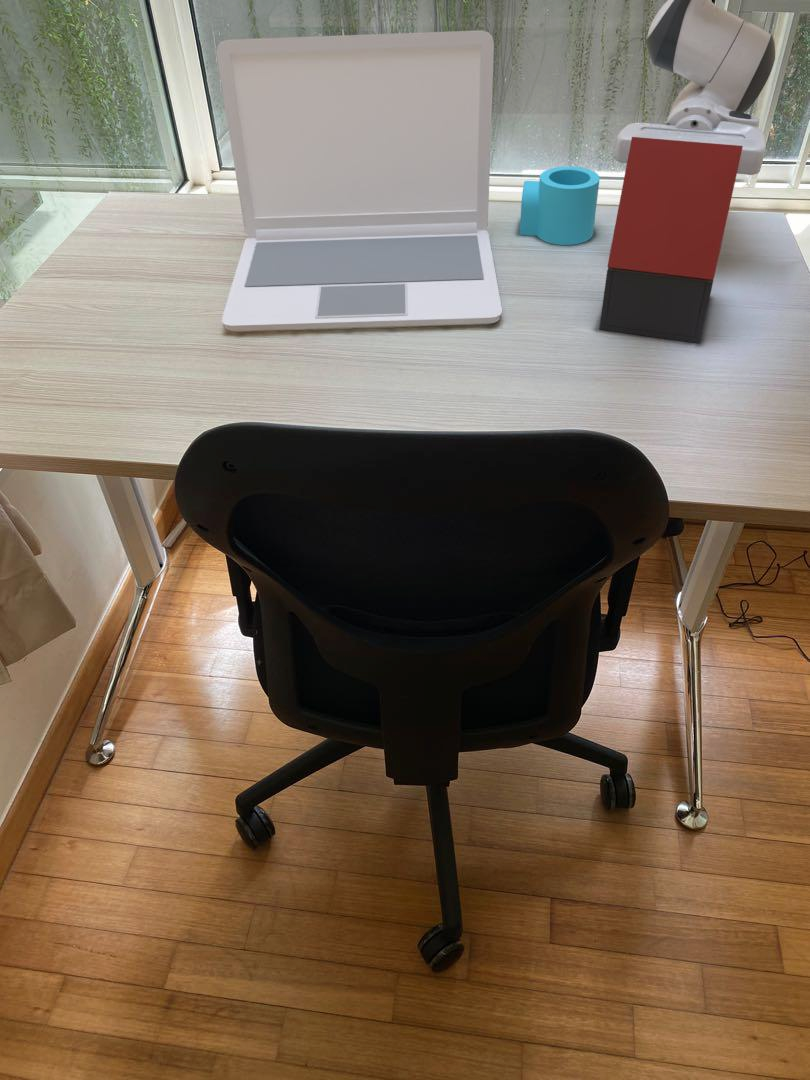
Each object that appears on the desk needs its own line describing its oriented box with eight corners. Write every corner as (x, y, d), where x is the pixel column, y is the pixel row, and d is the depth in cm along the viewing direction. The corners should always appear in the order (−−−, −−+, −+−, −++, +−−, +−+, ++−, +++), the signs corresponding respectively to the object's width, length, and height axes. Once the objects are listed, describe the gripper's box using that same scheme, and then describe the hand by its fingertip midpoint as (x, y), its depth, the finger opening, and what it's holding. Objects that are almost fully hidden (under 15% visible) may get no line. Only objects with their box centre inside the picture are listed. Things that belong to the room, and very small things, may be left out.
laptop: (221, 336, 124) (176, 104, 103) (248, 243, 147) (216, 36, 126) (502, 328, 123) (514, 92, 102) (486, 235, 146) (493, 26, 125)
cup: (517, 242, 144) (520, 186, 137) (523, 218, 150) (527, 164, 144) (591, 246, 142) (598, 190, 135) (594, 222, 148) (600, 167, 142)
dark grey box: (615, 285, 132) (623, 228, 126) (708, 297, 128) (721, 239, 122) (599, 329, 122) (607, 270, 116) (699, 343, 119) (712, 283, 113)
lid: (632, 138, 112) (631, 136, 112) (742, 147, 109) (742, 145, 108) (607, 267, 116) (607, 267, 116) (713, 280, 113) (713, 279, 112)
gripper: (624, 106, 129) (609, 138, 119) (771, 117, 123) (766, 151, 114) (618, 150, 133) (603, 184, 123) (759, 163, 128) (754, 199, 118)
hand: (683, 168), depth 119 cm, fingers closed
